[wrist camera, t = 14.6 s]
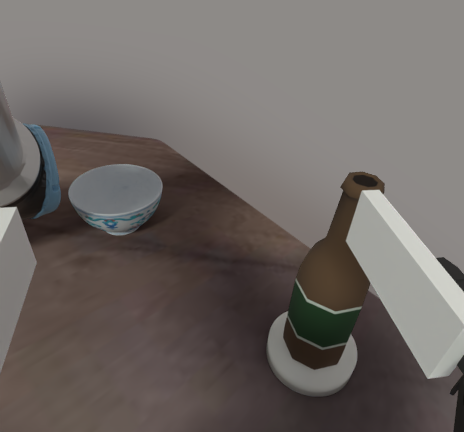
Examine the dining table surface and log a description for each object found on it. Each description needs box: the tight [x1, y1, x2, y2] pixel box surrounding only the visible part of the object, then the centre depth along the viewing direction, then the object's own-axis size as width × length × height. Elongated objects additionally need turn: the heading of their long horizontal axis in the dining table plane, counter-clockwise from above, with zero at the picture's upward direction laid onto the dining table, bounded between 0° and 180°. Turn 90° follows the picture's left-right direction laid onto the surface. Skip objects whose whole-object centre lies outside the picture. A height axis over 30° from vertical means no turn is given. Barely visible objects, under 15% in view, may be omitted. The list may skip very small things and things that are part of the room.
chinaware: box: [68, 164, 163, 235], centre depth 65 cm, size 15×15×8 cm
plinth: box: [266, 311, 357, 397], centre depth 48 cm, size 11×11×2 cm
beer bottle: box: [283, 172, 384, 370], centre depth 40 cm, size 8×8×24 cm
